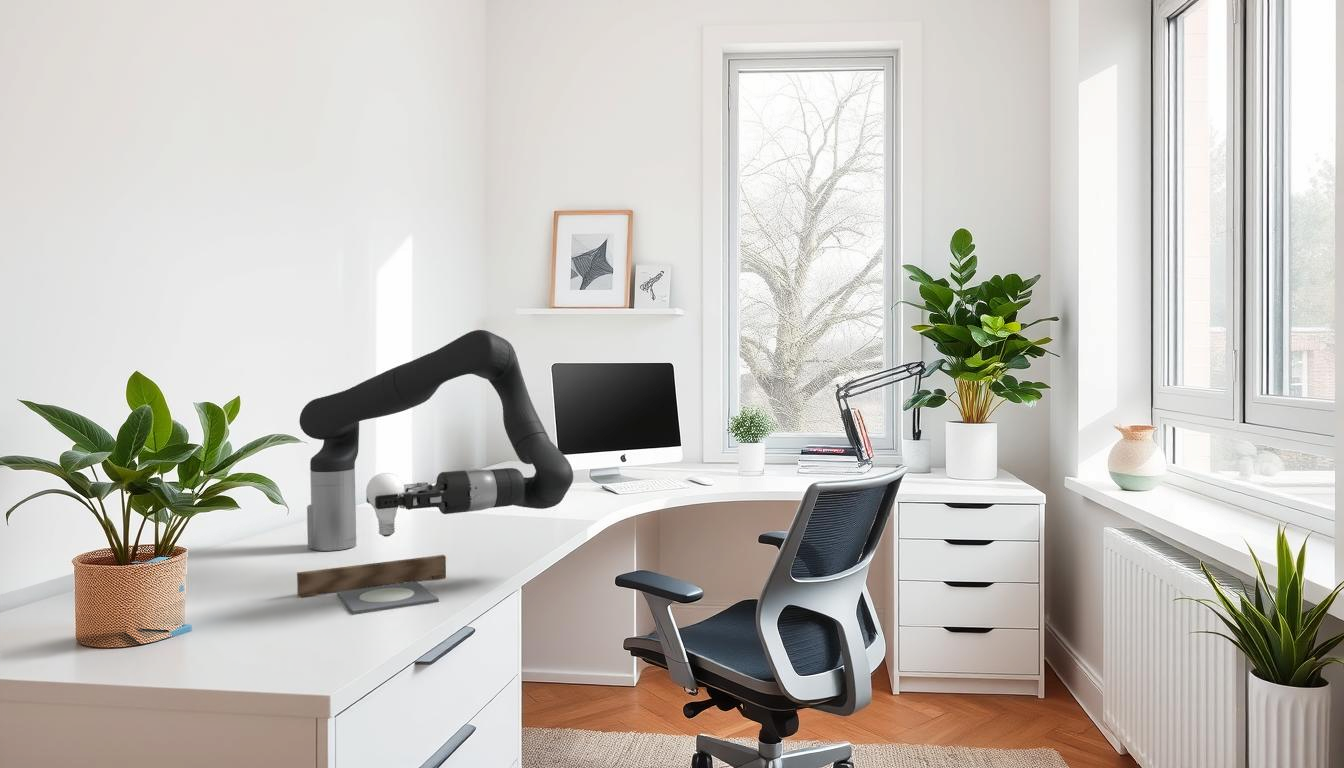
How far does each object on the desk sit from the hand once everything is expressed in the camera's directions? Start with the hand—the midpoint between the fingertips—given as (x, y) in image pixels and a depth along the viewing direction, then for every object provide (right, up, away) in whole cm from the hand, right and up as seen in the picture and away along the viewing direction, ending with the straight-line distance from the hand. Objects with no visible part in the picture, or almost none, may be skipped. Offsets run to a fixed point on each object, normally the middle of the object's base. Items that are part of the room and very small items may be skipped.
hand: (371, 500), depth 152 cm
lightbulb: (+2, -7, +2) cm, 7 cm away
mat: (+2, -17, +2) cm, 17 cm away
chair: (-27, -18, -17) cm, 37 cm away
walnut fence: (-3, -17, +10) cm, 20 cm away
